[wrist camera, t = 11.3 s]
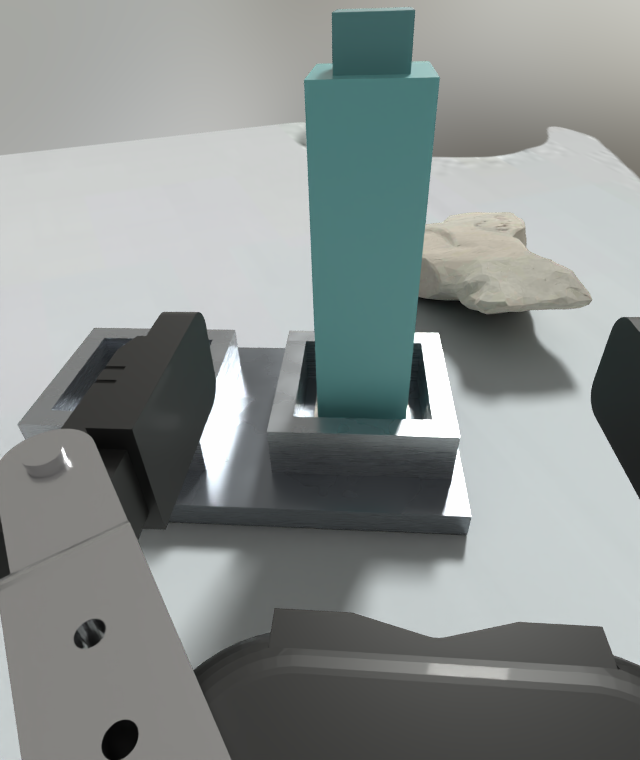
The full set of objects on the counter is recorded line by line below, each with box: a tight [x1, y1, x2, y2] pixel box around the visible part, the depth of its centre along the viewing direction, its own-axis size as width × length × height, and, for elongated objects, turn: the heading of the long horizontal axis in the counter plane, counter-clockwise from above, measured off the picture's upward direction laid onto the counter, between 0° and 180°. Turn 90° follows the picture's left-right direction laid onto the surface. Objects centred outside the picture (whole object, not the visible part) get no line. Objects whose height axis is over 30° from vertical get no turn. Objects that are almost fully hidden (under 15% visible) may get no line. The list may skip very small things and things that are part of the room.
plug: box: [304, 7, 440, 420], centre depth 21 cm, size 4×4×17 cm
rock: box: [418, 212, 592, 314], centre depth 39 cm, size 21×5×15 cm
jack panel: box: [17, 328, 471, 535], centre depth 26 cm, size 20×12×4 cm, turn 86°
